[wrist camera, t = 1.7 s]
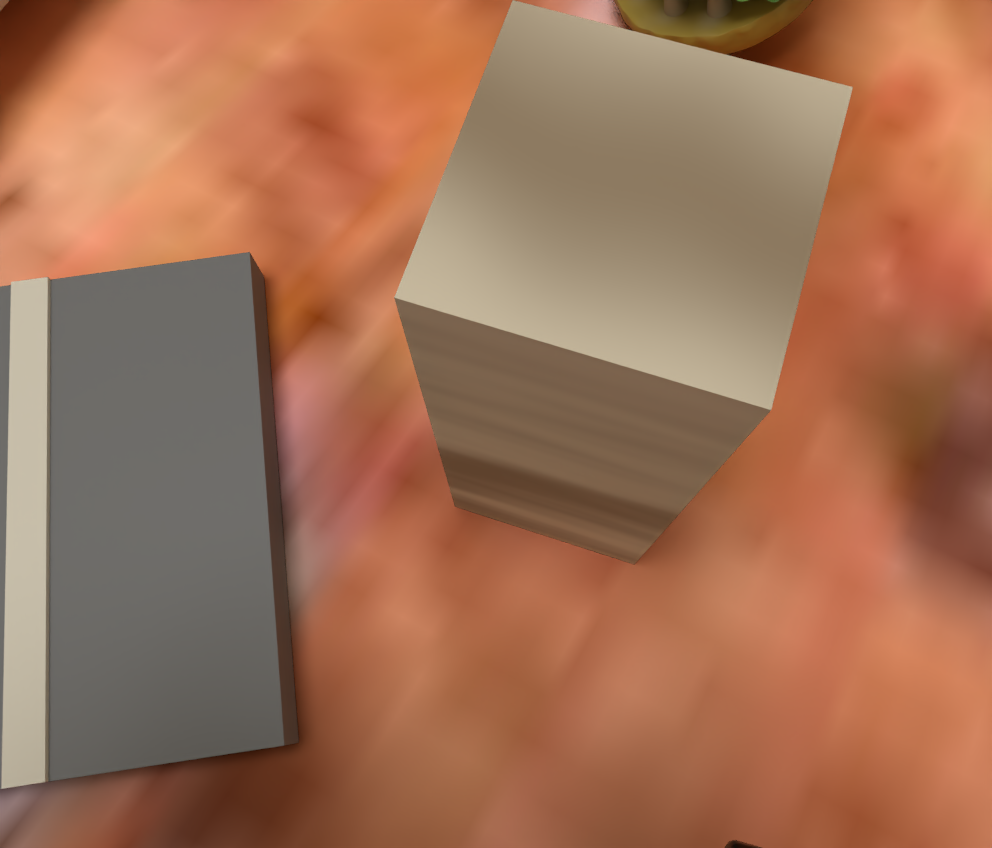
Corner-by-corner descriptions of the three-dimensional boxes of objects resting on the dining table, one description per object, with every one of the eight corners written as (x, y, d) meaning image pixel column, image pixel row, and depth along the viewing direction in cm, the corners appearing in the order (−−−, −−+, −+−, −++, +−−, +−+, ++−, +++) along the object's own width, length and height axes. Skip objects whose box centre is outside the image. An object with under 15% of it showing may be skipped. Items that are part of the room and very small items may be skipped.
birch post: (634, 564, 24) (770, 410, 11) (455, 506, 24) (394, 297, 12) (682, 393, 25) (853, 87, 12) (512, 342, 25) (513, 0, 13)
